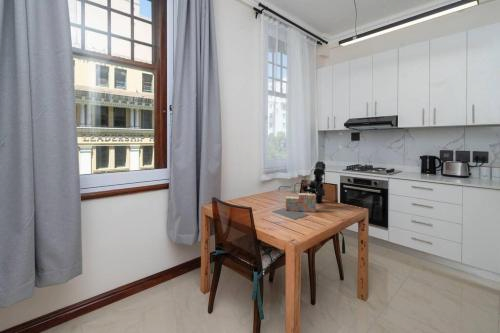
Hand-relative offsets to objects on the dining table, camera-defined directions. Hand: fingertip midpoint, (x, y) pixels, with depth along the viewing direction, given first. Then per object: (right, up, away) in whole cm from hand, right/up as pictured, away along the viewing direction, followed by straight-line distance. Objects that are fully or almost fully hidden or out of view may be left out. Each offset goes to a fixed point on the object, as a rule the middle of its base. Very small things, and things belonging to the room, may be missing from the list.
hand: (307, 198), depth 182 cm
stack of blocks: (-6, -8, -4) cm, 11 cm away
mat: (-15, -9, -10) cm, 20 cm away
